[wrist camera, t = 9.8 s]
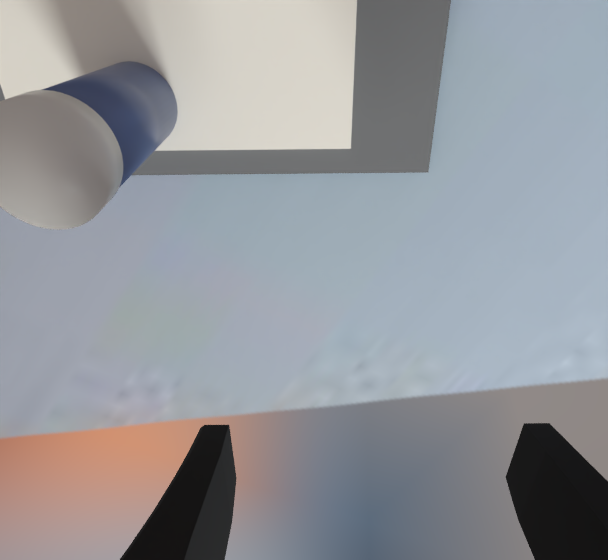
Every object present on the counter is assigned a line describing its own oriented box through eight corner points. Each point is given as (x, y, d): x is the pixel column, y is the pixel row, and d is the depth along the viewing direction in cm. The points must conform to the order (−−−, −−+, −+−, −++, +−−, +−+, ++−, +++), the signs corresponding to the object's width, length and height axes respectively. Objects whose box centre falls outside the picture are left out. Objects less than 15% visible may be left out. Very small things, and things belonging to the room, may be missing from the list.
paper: (361, -141, 13) (363, -145, 13) (350, 146, 17) (350, 148, 17) (-65, -136, 13) (-73, -138, 13) (26, 149, 17) (22, 152, 17)
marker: (173, 60, 15) (92, 99, 9) (183, 148, 17) (119, 230, 11) (84, 58, 15) (-53, 97, 9) (103, 147, 17) (-6, 228, 11)
